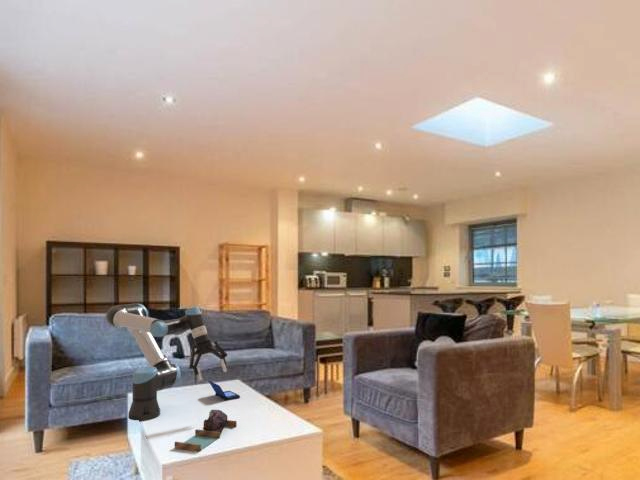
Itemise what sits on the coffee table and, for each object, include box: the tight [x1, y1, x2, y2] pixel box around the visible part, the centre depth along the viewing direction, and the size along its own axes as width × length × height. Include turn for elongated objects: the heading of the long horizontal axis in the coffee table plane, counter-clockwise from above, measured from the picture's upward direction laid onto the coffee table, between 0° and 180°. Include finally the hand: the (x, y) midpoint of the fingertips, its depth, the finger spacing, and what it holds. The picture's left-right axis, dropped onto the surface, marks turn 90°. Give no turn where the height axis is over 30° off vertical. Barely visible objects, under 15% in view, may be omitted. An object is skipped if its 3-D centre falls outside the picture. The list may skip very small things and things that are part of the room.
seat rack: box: [174, 419, 238, 453], centre depth 199 cm, size 12×31×2 cm, turn 162°
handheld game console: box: [208, 380, 241, 401], centre depth 262 cm, size 16×13×9 cm
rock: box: [202, 409, 228, 434], centre depth 206 cm, size 12×9×10 cm
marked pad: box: [183, 435, 219, 451], centre depth 191 cm, size 12×13×1 cm
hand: (213, 376), depth 227 cm, fingers open, 13 cm apart
